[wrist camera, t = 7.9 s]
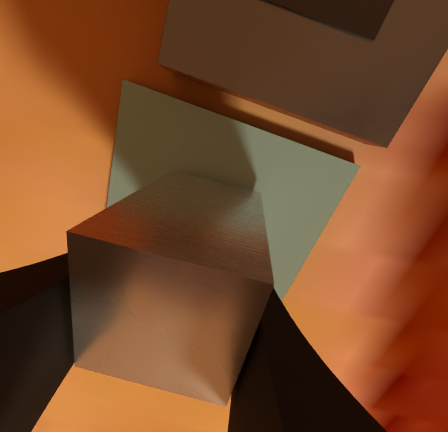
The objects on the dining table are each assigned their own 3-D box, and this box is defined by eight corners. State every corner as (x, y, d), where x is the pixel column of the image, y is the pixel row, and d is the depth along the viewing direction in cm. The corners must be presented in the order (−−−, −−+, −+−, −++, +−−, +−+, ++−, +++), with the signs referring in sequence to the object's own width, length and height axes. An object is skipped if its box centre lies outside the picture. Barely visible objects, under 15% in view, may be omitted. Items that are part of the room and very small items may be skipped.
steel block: (260, 192, 11) (274, 284, 5) (238, 266, 13) (225, 407, 7) (171, 170, 11) (66, 231, 5) (161, 247, 13) (74, 366, 7)
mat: (355, 163, 11) (360, 165, 11) (263, 323, 16) (264, 331, 16) (128, 81, 11) (122, 78, 10) (103, 268, 16) (98, 274, 15)
